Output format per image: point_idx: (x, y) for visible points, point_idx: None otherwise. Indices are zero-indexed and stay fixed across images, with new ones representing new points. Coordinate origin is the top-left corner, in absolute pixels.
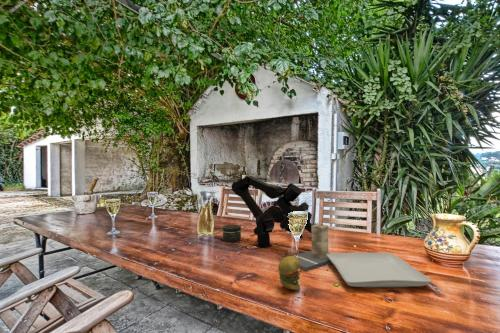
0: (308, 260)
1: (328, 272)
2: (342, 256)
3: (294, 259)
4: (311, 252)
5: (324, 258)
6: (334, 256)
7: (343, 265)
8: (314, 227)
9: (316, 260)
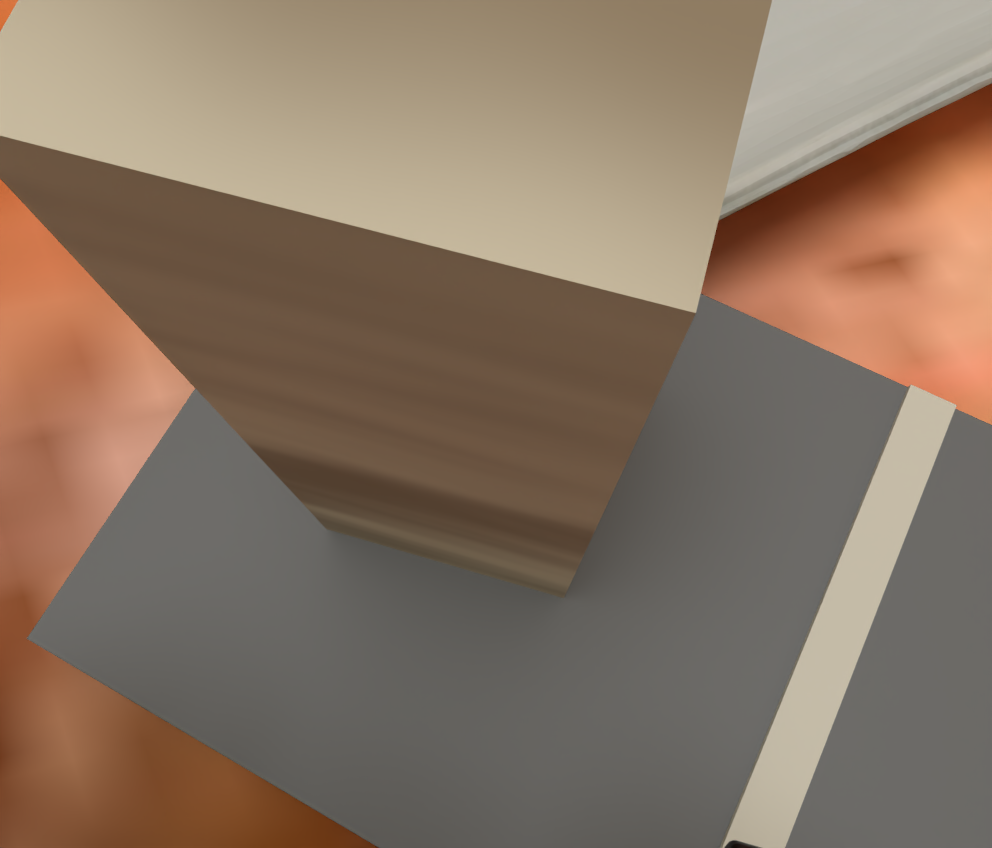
0: (859, 584)
1: (973, 227)
2: None
3: None
4: (305, 680)
5: None
6: None
7: None
8: (726, 153)
9: (750, 451)
